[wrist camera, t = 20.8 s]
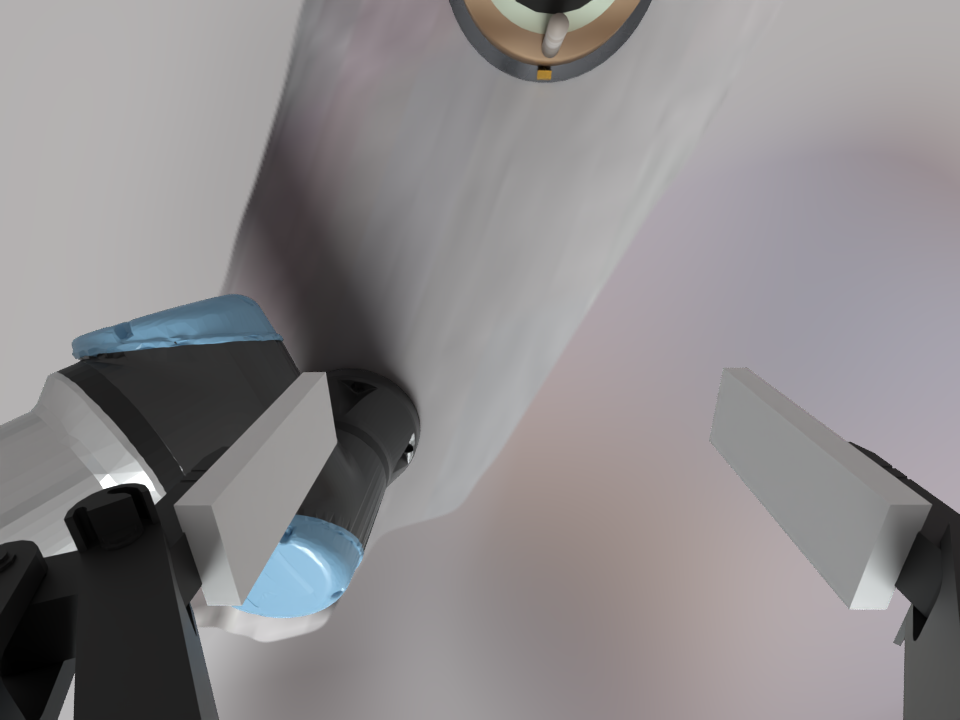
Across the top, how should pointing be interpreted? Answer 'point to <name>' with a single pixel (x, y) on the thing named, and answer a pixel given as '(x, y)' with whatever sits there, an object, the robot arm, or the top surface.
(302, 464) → the robot arm
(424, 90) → the top surface
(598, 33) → the index wheel
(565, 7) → the coffee jar
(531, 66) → the wheel base
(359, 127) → the top surface
